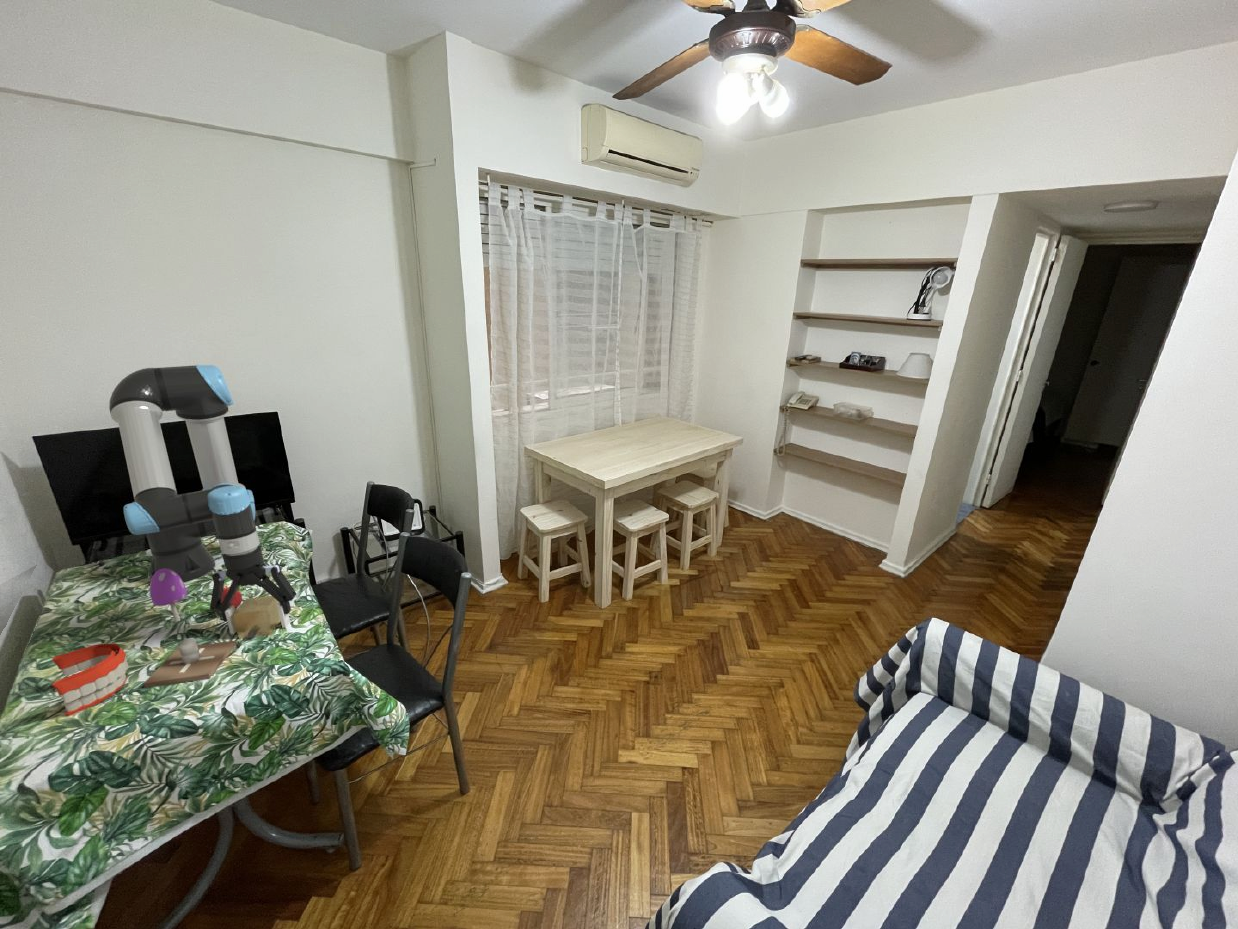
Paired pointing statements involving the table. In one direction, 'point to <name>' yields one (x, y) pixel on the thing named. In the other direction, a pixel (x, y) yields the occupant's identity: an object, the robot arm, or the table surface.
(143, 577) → the table surface
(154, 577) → the toy
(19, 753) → the table surface
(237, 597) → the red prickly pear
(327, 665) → the table surface
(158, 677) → the flat board
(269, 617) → the block with peg
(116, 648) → the toy
